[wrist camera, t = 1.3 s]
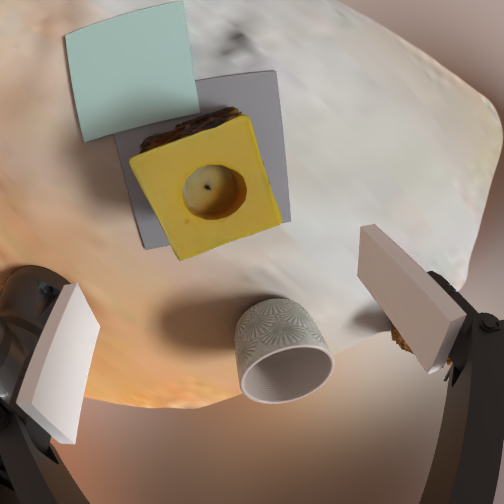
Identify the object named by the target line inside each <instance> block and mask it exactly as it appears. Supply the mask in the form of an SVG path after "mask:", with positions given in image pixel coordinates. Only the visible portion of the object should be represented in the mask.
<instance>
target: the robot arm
mask: <svg viewBox="0 0 504 504" xmlns="http://www.w3.org/2000/svg"><path fill="white" fill-rule="evenodd" d="M357 276H358V277H359V279H360V280H361V281H362V283H363V284H364V285H365V287H366V288H367V289H368V291H369V292H370V293H371V295H372V296H373V297H374V299H375V300H376V301H377V303H378V304H379V305H380V307H381V308H382V309H383V311H384V312H385V314H386V315H387V316H388V318H389V319H390V321H391V322H392V323H393V325H394V326H395V327H396V329H397V330H398V332H399V333H400V335H401V336H402V337H403V339H404V340H405V342H406V343H407V345H408V346H409V347H410V349H411V350H412V352H413V353H414V355H415V356H416V357H417V359H418V361H419V362H420V364H421V365H422V366H423V368H424V370H425V371H426V373H427V374H430V373H432V372H435V371H437V370H439V369H440V368H443V367H444V365H445V363H446V361H447V358H448V357H449V359H450V360H451V361H452V365H451V367H450V369H449V371H448V373H447V375H446V376H445V379H444V381H447V379H448V377H449V382H448V389H447V396H446V402H445V408H444V414H443V419H442V424H441V429H440V433H439V438H438V442H437V446H436V450H435V454H434V458H433V462H432V465H431V469H430V472H429V476H428V479H427V482H426V486H425V488H424V492H423V494H422V497H421V500H420V503H419V504H493V500H494V496H495V491H496V486H497V481H498V476H499V470H500V463H501V456H502V448H503V440H504V320H500V321H499V320H498V318H496V317H495V316H494V315H492V314H489V313H478V312H477V311H476V310H475V309H474V308H473V307H472V306H471V305H470V304H469V303H468V302H467V301H466V300H465V299H464V298H463V297H462V296H461V294H460V293H459V292H456V289H455V288H454V287H453V286H452V285H451V286H450V283H449V282H448V281H447V280H446V279H444V278H443V277H442V276H441V275H439V274H437V273H435V272H433V271H429V272H426V271H425V270H424V269H423V268H422V267H421V266H419V265H418V264H417V263H416V262H415V261H414V260H413V259H412V258H411V257H410V256H409V255H408V254H407V253H406V252H405V251H404V250H403V249H402V248H401V247H399V246H398V245H397V244H396V243H395V242H394V241H393V240H392V239H391V238H390V237H389V236H387V235H386V234H385V233H384V232H383V231H382V230H381V229H380V228H379V227H377V226H376V225H375V224H372V225H367V226H362V227H360V245H359V260H358V273H357ZM99 329H100V326H99V324H98V322H97V320H96V318H95V316H94V314H93V313H92V311H91V309H90V307H89V305H88V303H87V301H86V299H85V297H84V295H83V293H82V291H81V289H80V287H79V285H78V283H73V284H70V283H69V282H68V281H67V280H66V279H64V278H63V277H61V276H60V275H58V274H57V273H55V272H53V271H51V270H48V269H45V268H42V267H37V266H25V267H21V268H19V269H17V270H15V271H14V272H12V273H11V275H10V276H9V277H8V279H7V280H6V282H5V283H4V285H3V287H2V289H1V292H0V504H90V503H89V502H88V500H87V499H86V498H85V496H84V494H83V493H82V492H81V490H80V489H79V487H78V486H77V484H76V482H75V481H74V479H73V478H72V476H71V475H70V473H69V471H68V470H67V468H66V467H65V465H64V463H63V462H62V460H61V458H60V457H59V455H58V453H57V451H56V449H55V448H54V447H53V445H52V444H51V443H50V439H51V436H52V437H53V438H54V439H55V440H56V441H58V442H59V443H64V444H75V442H76V435H77V428H78V422H79V417H80V411H81V406H82V401H83V396H84V391H85V386H86V382H87V377H88V373H89V368H90V364H91V360H92V356H93V352H94V348H95V344H96V340H97V336H98V333H99Z"/></svg>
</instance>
